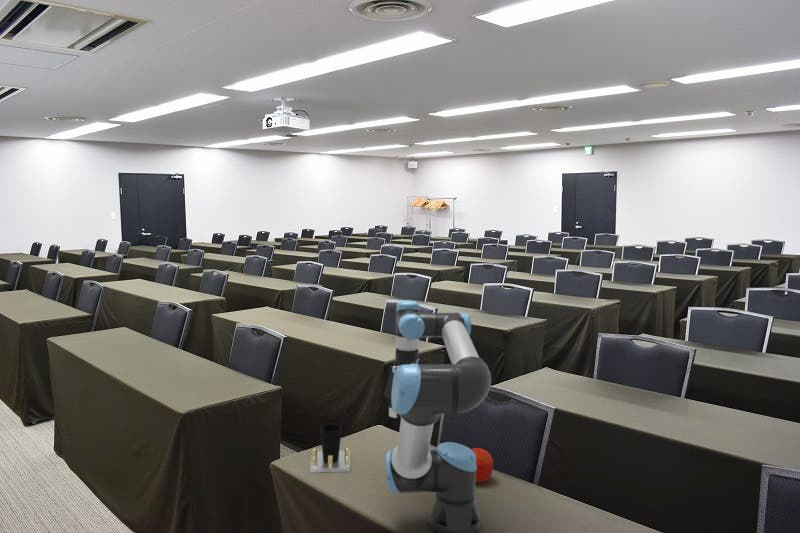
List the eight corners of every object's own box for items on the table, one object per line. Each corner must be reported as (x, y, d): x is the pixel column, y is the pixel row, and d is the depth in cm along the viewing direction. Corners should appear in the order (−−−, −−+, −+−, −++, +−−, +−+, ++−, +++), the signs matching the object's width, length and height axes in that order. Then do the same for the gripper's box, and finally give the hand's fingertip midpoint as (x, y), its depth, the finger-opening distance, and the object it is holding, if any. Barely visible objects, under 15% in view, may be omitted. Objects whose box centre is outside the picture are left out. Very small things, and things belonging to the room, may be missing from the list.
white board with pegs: (350, 471, 198) (350, 456, 198) (310, 472, 197) (310, 457, 196) (350, 454, 212) (350, 440, 212) (312, 455, 211) (312, 441, 210)
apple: (497, 478, 196) (498, 446, 195) (484, 490, 187) (486, 456, 186) (470, 470, 201) (472, 439, 200) (457, 481, 193) (458, 449, 192)
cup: (316, 462, 202) (316, 430, 201) (325, 453, 209) (325, 422, 208) (336, 465, 200) (336, 432, 198) (344, 456, 207) (344, 425, 206)
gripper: (420, 340, 196) (419, 399, 197) (373, 353, 176) (372, 418, 178) (438, 343, 191) (436, 404, 193) (392, 357, 171) (390, 424, 173)
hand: (405, 411), depth 185 cm, fingers open, 13 cm apart
